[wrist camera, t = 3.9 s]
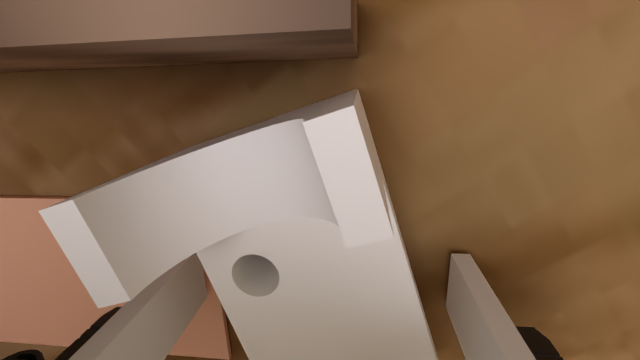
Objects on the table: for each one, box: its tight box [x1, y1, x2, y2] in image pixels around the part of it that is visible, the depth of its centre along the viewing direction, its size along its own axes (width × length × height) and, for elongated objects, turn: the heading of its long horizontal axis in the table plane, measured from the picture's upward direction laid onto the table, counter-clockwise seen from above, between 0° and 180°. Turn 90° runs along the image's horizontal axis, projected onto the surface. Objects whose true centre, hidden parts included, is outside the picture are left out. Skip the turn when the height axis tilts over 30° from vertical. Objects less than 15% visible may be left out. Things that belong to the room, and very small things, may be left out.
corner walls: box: [0, 0, 358, 73], centre depth 13 cm, size 25×23×8 cm
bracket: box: [39, 88, 438, 360], centre depth 11 cm, size 13×7×8 cm, turn 19°
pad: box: [0, 196, 232, 360], centre depth 17 cm, size 15×9×1 cm, turn 92°
